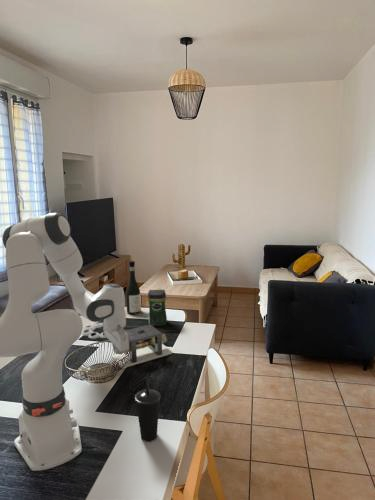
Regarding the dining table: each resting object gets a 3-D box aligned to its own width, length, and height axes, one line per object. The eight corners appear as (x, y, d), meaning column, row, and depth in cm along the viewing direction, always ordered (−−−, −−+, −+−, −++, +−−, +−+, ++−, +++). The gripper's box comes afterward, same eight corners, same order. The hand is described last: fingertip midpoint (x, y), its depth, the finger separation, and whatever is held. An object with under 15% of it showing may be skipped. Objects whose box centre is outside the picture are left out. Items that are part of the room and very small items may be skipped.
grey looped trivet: (95, 321, 205) (94, 318, 204) (127, 325, 199) (127, 322, 198) (73, 336, 186) (73, 332, 186) (109, 341, 180) (108, 337, 180)
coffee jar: (167, 320, 204) (166, 287, 200) (166, 326, 196) (165, 292, 192) (149, 320, 204) (148, 287, 200) (147, 326, 196) (146, 292, 192)
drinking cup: (140, 448, 110) (137, 386, 106) (133, 432, 117) (130, 373, 113) (165, 440, 113) (163, 380, 109) (156, 425, 120) (155, 367, 116)
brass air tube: (162, 340, 172) (162, 332, 171) (166, 343, 169) (166, 335, 168) (117, 352, 161) (116, 344, 160) (120, 356, 158) (120, 347, 157)
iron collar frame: (151, 344, 173) (150, 324, 171) (162, 354, 164) (161, 333, 162) (122, 352, 166) (121, 331, 164) (132, 363, 157) (131, 340, 155)
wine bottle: (143, 312, 215) (141, 261, 209) (130, 316, 211) (128, 263, 205) (137, 308, 222) (135, 259, 216) (124, 311, 217) (122, 261, 211)
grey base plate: (160, 344, 176) (160, 342, 176) (172, 353, 167) (172, 351, 167) (111, 357, 164) (111, 355, 164) (121, 368, 155) (121, 366, 154)
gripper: (132, 328, 149) (133, 360, 151) (113, 312, 166) (115, 341, 169) (117, 332, 145) (118, 365, 148) (99, 315, 162) (101, 345, 165)
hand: (116, 352), depth 159 cm, fingers closed, pressing on brass air tube
